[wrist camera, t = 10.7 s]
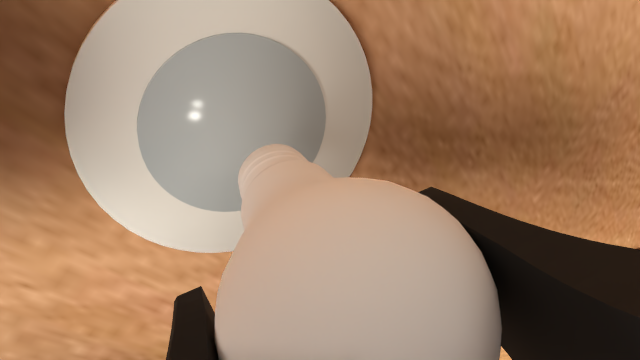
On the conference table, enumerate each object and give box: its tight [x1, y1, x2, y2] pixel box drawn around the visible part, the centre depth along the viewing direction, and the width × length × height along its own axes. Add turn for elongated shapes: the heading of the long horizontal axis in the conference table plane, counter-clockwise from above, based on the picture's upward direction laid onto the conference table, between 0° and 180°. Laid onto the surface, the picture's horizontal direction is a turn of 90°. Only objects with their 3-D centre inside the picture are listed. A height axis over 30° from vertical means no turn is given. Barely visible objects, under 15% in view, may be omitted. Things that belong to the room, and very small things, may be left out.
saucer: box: [64, 0, 372, 253], centre depth 20 cm, size 13×13×1 cm
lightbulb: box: [215, 144, 502, 360], centre depth 12 cm, size 6×6×11 cm
